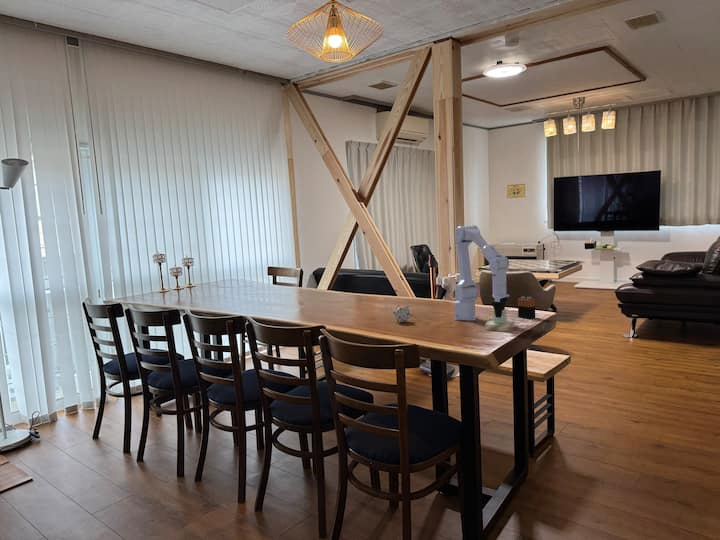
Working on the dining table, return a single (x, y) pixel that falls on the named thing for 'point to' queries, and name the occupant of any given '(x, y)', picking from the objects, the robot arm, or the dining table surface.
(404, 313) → the grey spiky ball
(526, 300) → the battery
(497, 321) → the mint block
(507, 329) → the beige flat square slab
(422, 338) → the dining table surface
